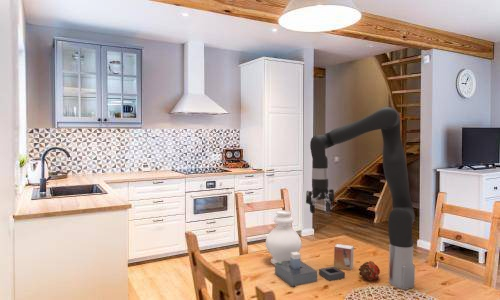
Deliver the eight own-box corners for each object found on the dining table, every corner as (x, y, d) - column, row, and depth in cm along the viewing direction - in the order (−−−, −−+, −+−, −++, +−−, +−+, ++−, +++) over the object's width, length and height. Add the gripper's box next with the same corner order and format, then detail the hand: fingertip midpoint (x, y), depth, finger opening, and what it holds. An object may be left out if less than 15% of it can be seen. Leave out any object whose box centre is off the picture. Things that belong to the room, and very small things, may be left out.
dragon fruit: (367, 288, 153) (367, 281, 165) (384, 278, 152) (383, 272, 163) (355, 270, 155) (356, 265, 167) (372, 260, 154) (371, 255, 165)
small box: (333, 268, 172) (333, 246, 171) (336, 264, 177) (336, 243, 176) (350, 271, 168) (351, 249, 168) (353, 267, 173) (353, 245, 173)
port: (317, 282, 156) (317, 269, 156) (292, 287, 151) (292, 274, 151) (297, 269, 170) (297, 258, 170) (274, 273, 166) (275, 261, 165)
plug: (300, 276, 160) (300, 254, 159) (294, 277, 159) (294, 254, 158) (296, 273, 163) (296, 251, 162) (290, 274, 162) (290, 252, 161)
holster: (344, 279, 159) (344, 272, 159) (329, 282, 156) (329, 275, 156) (333, 272, 167) (333, 266, 166) (318, 275, 163) (318, 268, 163)
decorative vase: (308, 265, 176) (308, 214, 175) (275, 270, 170) (275, 217, 168) (290, 253, 193) (291, 207, 191) (259, 258, 186) (259, 209, 185)
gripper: (312, 179, 163) (312, 215, 164) (337, 177, 169) (337, 212, 170) (302, 177, 170) (303, 212, 171) (327, 176, 176) (327, 209, 177)
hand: (320, 212), depth 170 cm, fingers open, 8 cm apart
